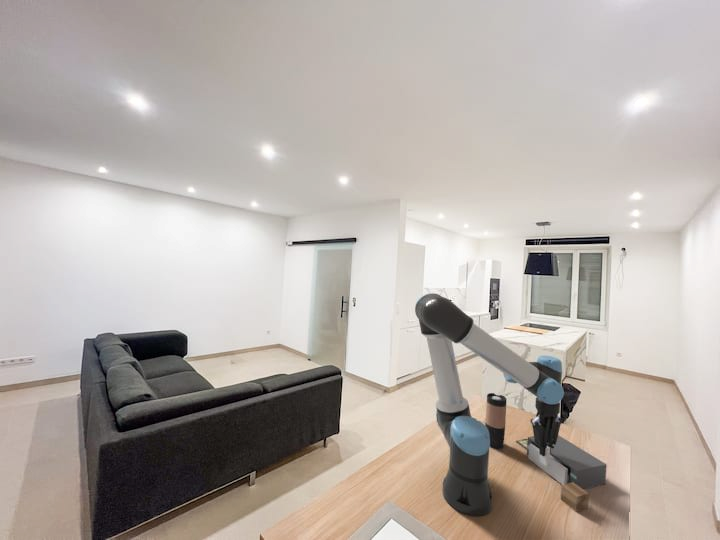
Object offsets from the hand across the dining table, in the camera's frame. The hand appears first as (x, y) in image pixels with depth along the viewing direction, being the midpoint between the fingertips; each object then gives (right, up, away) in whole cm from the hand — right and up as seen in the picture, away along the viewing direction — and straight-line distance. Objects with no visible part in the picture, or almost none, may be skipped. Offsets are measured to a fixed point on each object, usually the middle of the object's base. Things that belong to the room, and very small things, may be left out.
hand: (544, 463), depth 110 cm
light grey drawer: (+7, -4, +2) cm, 9 cm away
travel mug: (-11, -3, +17) cm, 20 cm away
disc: (+6, +1, +2) cm, 7 cm away
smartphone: (+5, -4, +13) cm, 14 cm away
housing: (+9, -4, +3) cm, 10 cm away
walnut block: (+1, -4, -14) cm, 15 cm away
